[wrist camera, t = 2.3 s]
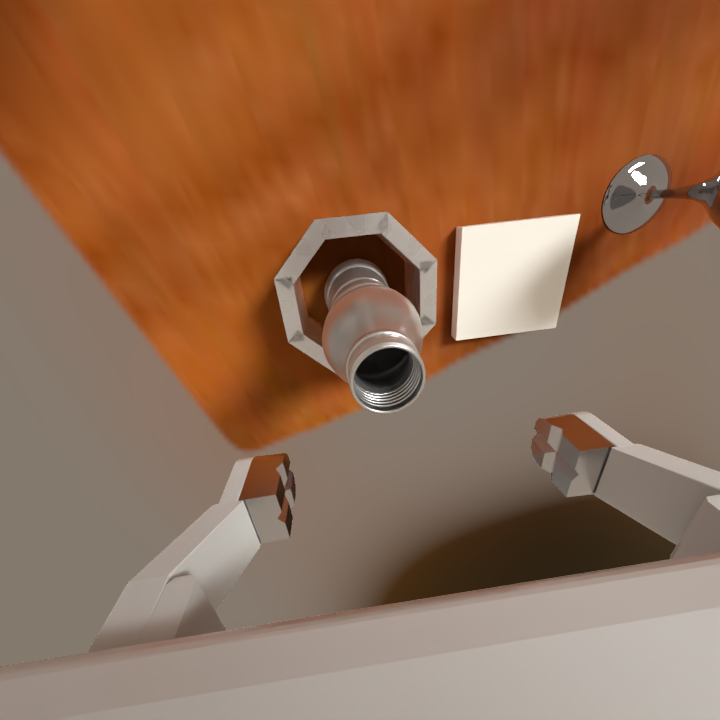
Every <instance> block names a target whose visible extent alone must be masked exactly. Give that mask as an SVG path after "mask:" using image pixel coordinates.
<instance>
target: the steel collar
mask: <svg viewBox="0 0 720 720" xmlns="http://www.w3.org/2000/svg"><path fill="white" fill-rule="evenodd" d="M370 234H375V235H376V236H377V237H379V238H380V239H381V240H382V241H383V242H384V243H385V244H386V245H387V246H388V247H389V248H391V249H392V250H393V251H394V252H395V253H396V254H397V255H398V256H399V257H400V258H401V259H403V260H404V277H405V297H406V298H407V299H408V300H409V301H410V302H411V303H412V305H413V306H414V307H415V309H416V311H417V312H418V314H419V317H420V320H421V324H422V337H424V336H425V335H426V334H427V333H428V332H429V331H430V330H431V329H432V327H433V326H434V325H435V324H436V292H437V259H436V258H434V257H433V256H432V255H431V254H430V253H429V252H428V251H427V250H426V249H425V248H424V247H423V246H422V245H421V244H420V243H419V242H418V241H417V240H416V239H415V238H414V237H413V236H412V235H411V234H410V233H409V232H408V231H407V230H406V229H405V228H404V227H403V226H402V225H401V224H400V223H398V222H397V221H396V220H395V219H394V218H393V217H392V216H391V215H390V214H389V213H388V212H381V213H372V214H363V215H354V216H344V217H335V218H326V219H317V220H314V221H313V223H312V224H311V226H310V227H309V228H308V230H307V231H306V233H305V234H304V236H303V237H302V239H301V240H300V242H299V243H298V245H297V246H296V247H295V249H294V250H293V252H292V253H291V255H290V256H289V258H288V259H287V261H286V262H285V264H284V265H283V267H282V268H281V269H280V271H279V272H278V274H277V275H276V277H275V278H274V282H275V286H276V291H277V295H278V300H279V304H280V308H281V313H282V317H283V322H284V326H285V330H286V335H287V339H288V343H290V344H291V345H293V346H294V347H296V348H297V349H299V350H300V351H302V352H303V353H305V354H307V355H308V356H310V357H311V358H313V359H314V360H316V361H317V362H319V363H320V364H322V365H323V366H325V367H326V368H328V369H329V370H331V371H332V372H334V370H333V369H332V367H331V366H330V365H329V363H328V361H327V359H326V357H325V355H324V351H323V347H322V333H323V327H324V326H322V325H321V324H319V323H318V322H317V321H315V320H314V319H312V318H311V317H310V316H308V315H307V309H306V304H305V298H304V293H303V288H302V282H301V277H300V274H301V273H302V271H303V270H304V269H305V267H306V266H307V264H308V263H309V262H310V260H311V259H312V257H313V256H314V255H315V253H316V252H317V250H318V249H319V248H320V246H321V245H322V243H323V242H324V241H325V239H334V238H343V237H352V236H361V235H370ZM334 373H335V372H334Z"/></svg>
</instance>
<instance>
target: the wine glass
mask: <svg viewBox="0 0 720 720" xmlns="http://www.w3.org/2000/svg"><path fill="white" fill-rule="evenodd" d="M671 182H672V173H671V169H670V166H669V164H668V162H667V161H666V160H665V159H664V158H662V157H660V156H658V155H649V154H648V155H643V156H640V157H638V158H635V159H634V160H632V161H630V162H629V163H628V164H626V165H625V166H624V167H623V168H622V169H621V170H620V171H619V172H618V173H617V174H616V176H615V177H614V178H613V180H612V181H611V183H610V185H609V186H608V189H607V191H606V193H605V196H604V199H603V205H602V215H603V220H604V223H605V224H606V226H607V227H608V228H609V229H610V230H611V231H613V232H615V233H619V234H626V233H631V232H634V231H636V230H638V229H640V228H642V227H644V226H645V225H646V224H648V223H649V222H650V221H651V220H652V219H653V218H654V217H655V216H656V215H657V214H658V212H659V211H660V210H661V208H662V207H663V205H664V203H665V201H666V200H667V198H675V199H688V200H694V201H697V202H699V203H700V204H702V205H703V206H704V208H705V210H706V211H707V213H708V215H709V217H710V219H711V220H712V222H713V223H714V224H715V225H716V226H717V227H718V228H719V229H720V171H719V172H718V173H717V174H715V175H714V176H712V177H710V178H708V179H706V180H704V181H702V182H699V183H696V184H692V185H687V186H683V187H678V188H672V189H670V188H671Z"/></svg>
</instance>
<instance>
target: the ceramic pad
mask: <svg viewBox="0 0 720 720" xmlns="http://www.w3.org/2000/svg"><path fill="white" fill-rule="evenodd" d="M579 218H580V214H567V215H558V216H549V217H540V218H531V219H522V220H513V221H504V222H495V223H486V224H478V225H469V226H460V227H456V244H455V266H454V287H453V309H452V330H451V336H452V337H453V338H454V339H455V340H456V341H457V340H465V339H473V338H481V337H488V336H496V335H504V334H512V333H519V332H527V331H535V330H542V329H550V328H556V324H557V320H558V315H559V311H560V306H561V301H562V297H563V292H564V288H565V283H566V278H567V274H568V269H569V264H570V260H571V255H572V251H573V246H574V241H575V237H576V232H577V228H578V223H579Z"/></svg>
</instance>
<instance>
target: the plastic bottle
mask: <svg viewBox="0 0 720 720" xmlns="http://www.w3.org/2000/svg"><path fill="white" fill-rule="evenodd" d="M324 297H325V302H326V305H327V308H328V310H329V312H328V315H327V317H326V320H325V323H324V327H323V333H322V347H323V351H324V355H325V357H326V359H327V361H328V363H329V365H330V366H331V367H332V369H333V370H334V372H335V373H336V374H337V375H338V376H339V377H340V378H341V379H342V380H343V381H345V382H347V383H348V384H350V389H351V392H352V394H353V396H354V398H355V400H356V401H357V402H358V404H359V405H361V406H362V407H363V408H364V409H366V410H368V411H370V412H374V413H378V414H390V413H395V412H398V411H401V410H403V409H405V408H407V407H408V406H410V405H411V404H412V403H413V402H415V400H416V399H417V398H418V397H419V395H420V394H421V392H422V390H423V388H424V385H425V380H426V370H425V367H424V363H423V361H422V359H421V357H420V356H419V355H420V352H421V349H422V342H423V337H422V324H421V320H420V317H419V314H418V312H417V311H416V309H415V307H414V306H413V305H412V303H411V302H410V301H409V300H408V299H407V298H406V297H404V296H403V295H402V294H400V293H399V292H397V291H396V290H393V289H391V288H389V287H388V283H387V280H386V277H385V275H384V274H383V272H382V271H381V270H380V268H379V267H378V266H376V265H375V264H374V263H372V262H370V261H368V260H364V259H350V260H347V261H344V262H342V263H341V264H339V265H338V266H336V267H335V268H334V269H333V270H332V272H331V273H330V275H329V276H328V278H327V281H326V284H325V289H324Z"/></svg>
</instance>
